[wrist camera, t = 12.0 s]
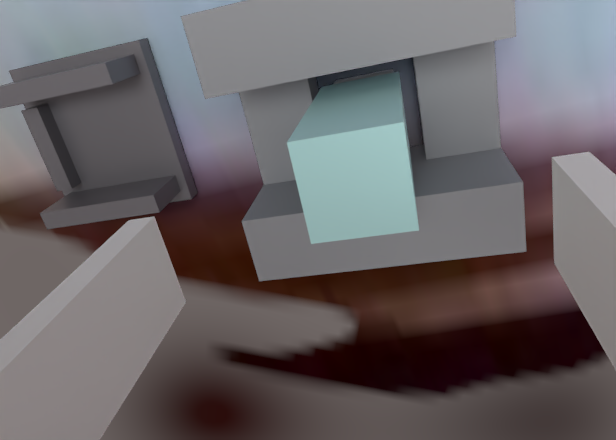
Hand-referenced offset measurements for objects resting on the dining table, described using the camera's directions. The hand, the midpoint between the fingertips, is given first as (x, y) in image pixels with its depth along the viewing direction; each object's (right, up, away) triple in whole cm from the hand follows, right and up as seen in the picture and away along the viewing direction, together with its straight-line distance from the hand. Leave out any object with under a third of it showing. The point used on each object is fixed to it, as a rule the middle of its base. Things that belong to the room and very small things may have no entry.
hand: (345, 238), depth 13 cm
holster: (-12, +6, +17) cm, 22 cm away
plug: (+2, +7, +14) cm, 16 cm away
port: (+2, +7, +14) cm, 16 cm away
